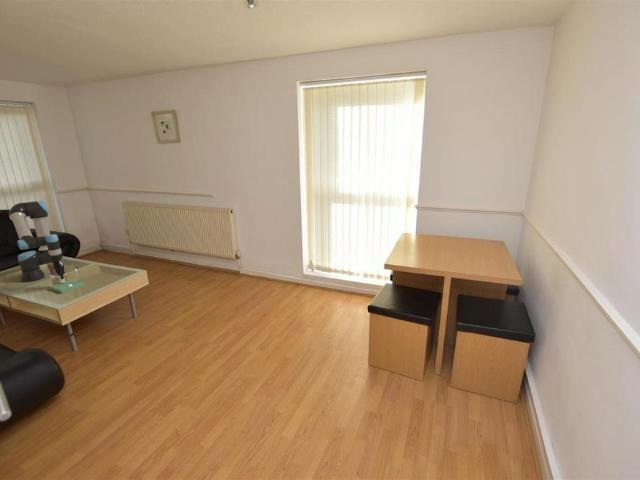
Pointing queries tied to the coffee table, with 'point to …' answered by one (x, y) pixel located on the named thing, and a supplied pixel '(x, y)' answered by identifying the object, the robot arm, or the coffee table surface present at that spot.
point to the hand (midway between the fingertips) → (62, 282)
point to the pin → (76, 272)
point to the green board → (64, 286)
